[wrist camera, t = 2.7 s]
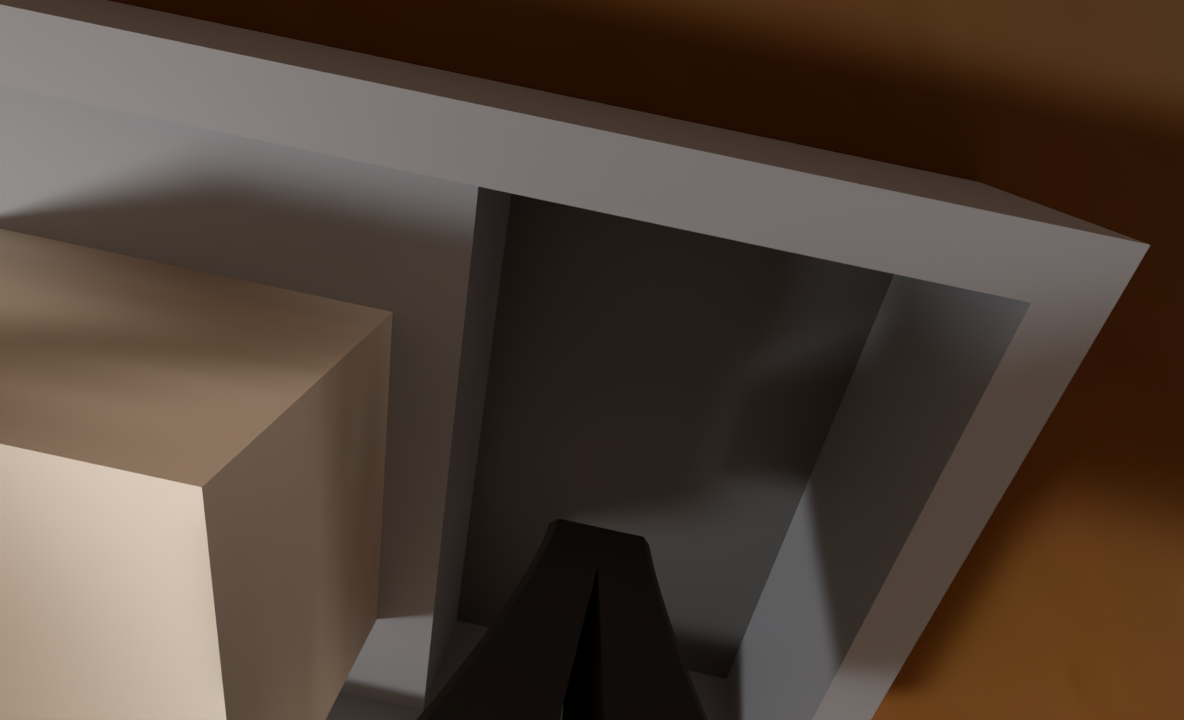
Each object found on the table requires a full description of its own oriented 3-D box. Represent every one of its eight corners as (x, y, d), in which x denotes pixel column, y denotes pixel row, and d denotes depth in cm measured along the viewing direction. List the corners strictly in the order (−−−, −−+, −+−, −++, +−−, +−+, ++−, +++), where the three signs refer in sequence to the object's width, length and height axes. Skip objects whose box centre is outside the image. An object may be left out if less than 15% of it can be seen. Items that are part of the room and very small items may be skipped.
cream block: (392, 312, 9) (202, 487, 5) (376, 619, 11) (242, 879, 8) (-30, 222, 9) (-514, 333, 5) (51, 548, 11) (-233, 774, 8)
